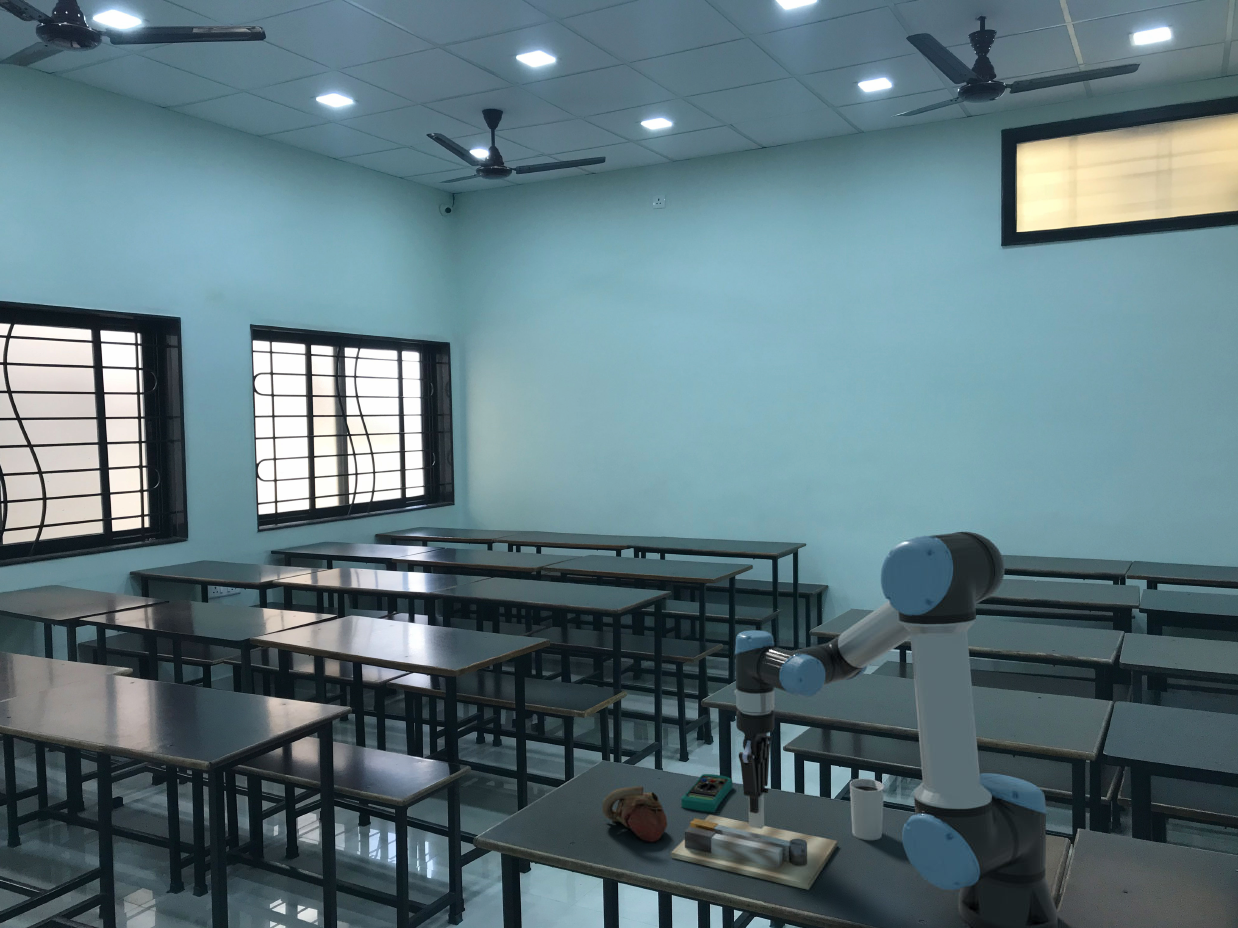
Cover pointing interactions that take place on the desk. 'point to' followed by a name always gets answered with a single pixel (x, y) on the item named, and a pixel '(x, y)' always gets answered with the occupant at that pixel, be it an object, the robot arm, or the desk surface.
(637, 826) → the anatomical model
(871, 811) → the white coffee cup
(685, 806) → the digital multimeter
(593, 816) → the desk surface
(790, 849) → the bar
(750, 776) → the robot arm
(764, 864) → the board
